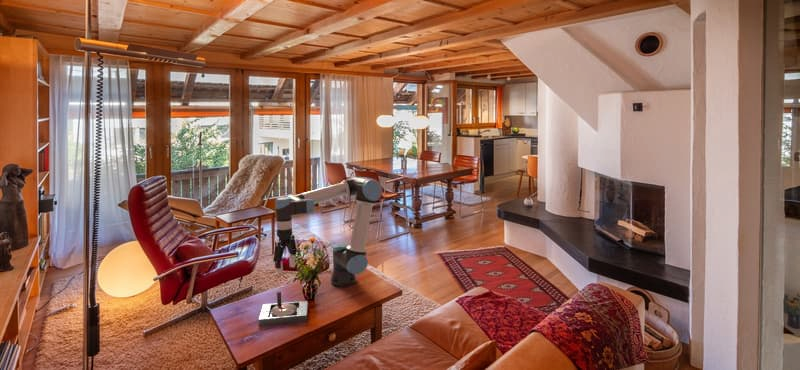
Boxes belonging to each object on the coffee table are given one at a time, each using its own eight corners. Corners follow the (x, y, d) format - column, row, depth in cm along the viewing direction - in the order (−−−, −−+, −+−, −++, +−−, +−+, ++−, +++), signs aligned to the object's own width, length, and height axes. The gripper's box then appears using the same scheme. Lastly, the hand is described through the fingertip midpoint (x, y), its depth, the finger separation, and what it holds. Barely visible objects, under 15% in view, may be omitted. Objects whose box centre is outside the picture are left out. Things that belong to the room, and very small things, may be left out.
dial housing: (307, 307, 215) (307, 300, 214) (306, 321, 199) (306, 314, 199) (263, 310, 211) (263, 303, 210) (258, 326, 195) (258, 318, 195)
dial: (301, 313, 204) (300, 296, 203) (278, 320, 196) (277, 303, 195) (289, 304, 213) (289, 288, 212) (267, 311, 205) (266, 295, 204)
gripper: (290, 222, 220) (292, 262, 224) (264, 233, 199) (266, 277, 203) (303, 223, 218) (304, 263, 221) (277, 234, 197) (279, 279, 201)
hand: (286, 270), depth 212 cm, fingers open, 10 cm apart
